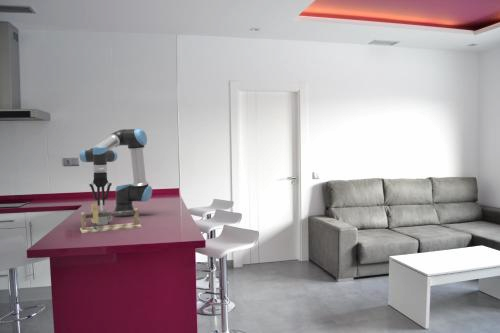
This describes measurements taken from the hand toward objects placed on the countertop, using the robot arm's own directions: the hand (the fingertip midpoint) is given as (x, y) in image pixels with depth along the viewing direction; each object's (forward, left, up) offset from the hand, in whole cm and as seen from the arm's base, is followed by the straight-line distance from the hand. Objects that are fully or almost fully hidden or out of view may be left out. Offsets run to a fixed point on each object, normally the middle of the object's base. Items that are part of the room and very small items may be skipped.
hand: (101, 210), depth 233 cm
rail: (0, +6, -12) cm, 13 cm away
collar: (0, -4, -6) cm, 7 cm away
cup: (-19, +5, -12) cm, 23 cm away
